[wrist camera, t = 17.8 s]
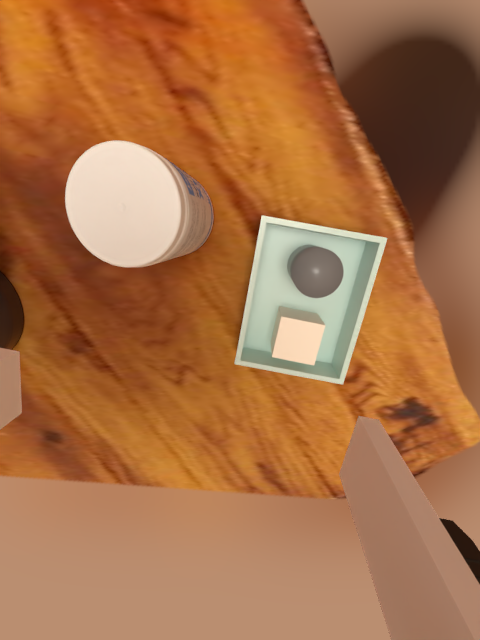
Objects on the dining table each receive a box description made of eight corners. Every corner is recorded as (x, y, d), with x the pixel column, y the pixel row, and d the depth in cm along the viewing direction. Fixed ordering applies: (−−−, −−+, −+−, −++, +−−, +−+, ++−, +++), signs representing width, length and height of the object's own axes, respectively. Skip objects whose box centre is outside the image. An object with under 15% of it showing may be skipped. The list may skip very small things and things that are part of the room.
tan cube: (270, 341, 41) (271, 357, 36) (279, 305, 39) (281, 316, 34) (307, 349, 41) (314, 365, 36) (317, 313, 39) (325, 325, 34)
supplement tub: (223, 186, 36) (199, 159, 22) (204, 264, 39) (171, 284, 25) (144, 162, 36) (69, 119, 22) (130, 242, 39) (55, 250, 25)
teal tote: (237, 348, 42) (234, 364, 37) (261, 217, 37) (261, 215, 32) (333, 366, 42) (342, 384, 37) (371, 236, 37) (387, 237, 32)
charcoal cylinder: (283, 282, 38) (288, 293, 32) (292, 241, 37) (298, 244, 30) (323, 289, 38) (336, 302, 31) (333, 248, 37) (349, 252, 30)
